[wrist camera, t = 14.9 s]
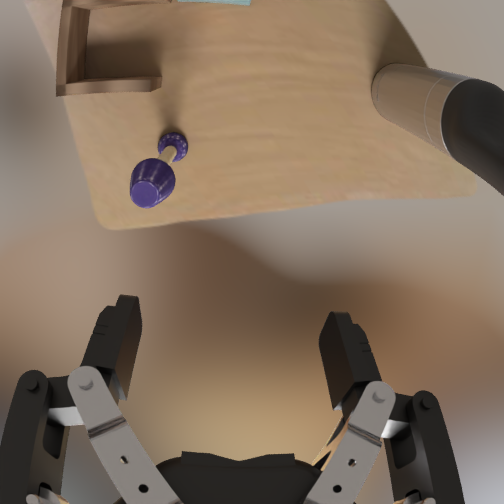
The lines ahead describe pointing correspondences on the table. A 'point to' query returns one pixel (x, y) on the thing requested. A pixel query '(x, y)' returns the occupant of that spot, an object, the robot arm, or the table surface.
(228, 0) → the teal coaster
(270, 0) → the table surface
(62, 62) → the walnut cubby
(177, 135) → the toy lamp
